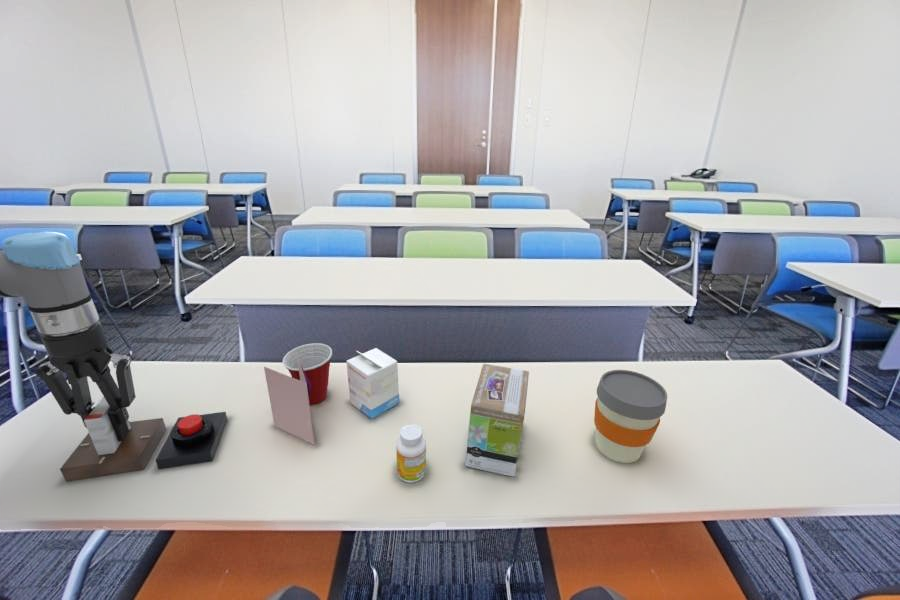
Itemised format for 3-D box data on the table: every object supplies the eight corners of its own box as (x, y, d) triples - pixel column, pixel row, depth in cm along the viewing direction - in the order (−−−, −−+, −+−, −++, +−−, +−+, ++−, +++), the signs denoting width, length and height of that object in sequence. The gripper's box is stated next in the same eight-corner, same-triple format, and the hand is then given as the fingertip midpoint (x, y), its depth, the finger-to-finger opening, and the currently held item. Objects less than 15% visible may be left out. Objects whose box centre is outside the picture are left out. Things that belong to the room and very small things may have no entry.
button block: (158, 469, 73) (152, 452, 72) (180, 425, 84) (176, 410, 82) (212, 461, 76) (208, 444, 74) (227, 419, 86) (224, 404, 85)
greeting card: (319, 443, 81) (311, 382, 75) (280, 455, 77) (268, 392, 71) (308, 410, 90) (301, 353, 84) (273, 420, 87) (262, 361, 81)
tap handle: (116, 429, 78) (103, 395, 75) (131, 427, 79) (118, 393, 76) (98, 455, 72) (83, 419, 69) (114, 453, 73) (100, 417, 69)
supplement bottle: (397, 461, 77) (396, 421, 73) (425, 460, 78) (425, 420, 74) (396, 484, 72) (395, 443, 68) (426, 482, 73) (426, 441, 69)
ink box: (400, 403, 93) (399, 354, 88) (370, 420, 88) (367, 368, 82) (377, 387, 99) (375, 340, 93) (348, 402, 93) (344, 353, 88)
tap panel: (65, 482, 70) (58, 468, 69) (98, 437, 80) (93, 425, 79) (143, 470, 73) (138, 457, 72) (166, 428, 83) (162, 416, 82)
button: (176, 436, 76) (174, 429, 75) (183, 422, 80) (181, 415, 79) (199, 433, 77) (198, 426, 76) (205, 420, 81) (204, 413, 80)
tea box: (516, 478, 74) (525, 415, 68) (464, 467, 76) (468, 405, 70) (522, 425, 88) (529, 368, 82) (477, 417, 90) (481, 361, 84)
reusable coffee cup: (592, 418, 91) (604, 362, 85) (652, 438, 85) (669, 380, 79) (580, 454, 80) (593, 393, 75) (648, 479, 75) (668, 416, 69)
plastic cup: (285, 390, 96) (279, 348, 91) (331, 380, 101) (327, 338, 96) (292, 418, 87) (284, 372, 83) (341, 404, 92) (337, 360, 87)
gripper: (-6, 343, 60) (51, 459, 70) (115, 332, 64) (153, 444, 74) (27, 321, 67) (75, 430, 76) (135, 313, 71) (168, 418, 80)
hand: (113, 437), depth 75 cm, fingers closed on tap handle, 2 cm apart
